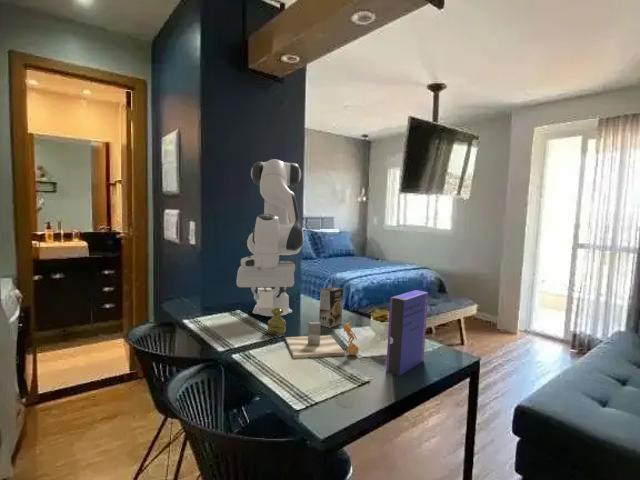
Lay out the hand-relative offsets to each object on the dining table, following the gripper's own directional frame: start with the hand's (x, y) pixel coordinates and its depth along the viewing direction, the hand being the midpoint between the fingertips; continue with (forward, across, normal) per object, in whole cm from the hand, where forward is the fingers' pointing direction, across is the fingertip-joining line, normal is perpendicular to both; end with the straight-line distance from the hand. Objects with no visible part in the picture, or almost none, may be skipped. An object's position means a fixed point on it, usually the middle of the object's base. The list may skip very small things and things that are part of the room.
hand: (265, 299), depth 136 cm
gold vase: (+18, -7, -17) cm, 26 cm away
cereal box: (+18, -44, +23) cm, 53 cm away
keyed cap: (+2, 0, 0) cm, 2 cm away
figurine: (+18, -29, +11) cm, 36 cm away
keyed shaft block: (+18, -18, +2) cm, 25 cm away
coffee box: (+18, -32, -25) cm, 44 cm away
